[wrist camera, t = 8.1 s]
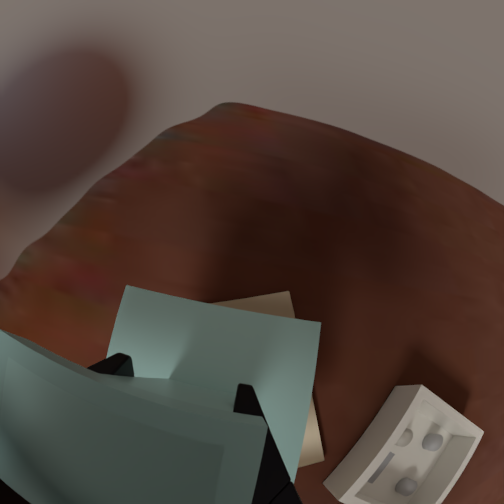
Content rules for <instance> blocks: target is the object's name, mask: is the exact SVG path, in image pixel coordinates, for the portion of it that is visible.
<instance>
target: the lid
mask: <svg viewBox="0 0 504 504" xmlns="http://www.w3.org/2000/svg"><path fill="white" fill-rule="evenodd" d="M320 328H321V322H315V321H307V320H301V319H294V318H287V317H281V316H275V315H269V314H263V313H257V312H251V311H245V310H240V309H234V308H229V307H224V306H218V305H213V304H208V303H203V302H199V301H194V300H189V299H184V298H180V297H175V296H171V295H166V294H162V293H157V292H153V291H149V290H145V289H140V288H136V287H132V286H128V285H126V288H125V291H124V294H123V297H122V301H121V304H120V308H119V311H118V315H117V318H116V322H115V325H114V329H113V333H112V337H111V341H110V345H109V349H108V353H107V358H108V357H110V356H112V355H114V354H116V353H123V354H126V355H129V356H131V358H132V363H133V369H134V377H128V376H117V375H108V374H99V373H96V372H94V371H91V370H89V369H87V368H84V367H82V366H80V365H78V364H75V363H73V362H71V361H69V360H67V359H65V358H63V357H61V356H59V355H56V354H54V353H52V352H51V351H49V350H47V349H45V348H43V347H41V346H39V345H37V344H35V343H34V342H32V341H30V340H28V339H25V338H22V337H20V336H17V335H14V334H11V333H9V332H6V331H3V330H1V329H0V479H1V480H2V481H4V482H5V483H6V484H7V485H8V486H9V487H11V488H12V489H13V490H14V491H15V492H17V493H18V494H19V495H20V496H22V497H23V498H24V499H26V500H27V501H28V502H30V503H31V504H251V503H252V499H253V495H254V490H255V486H256V481H257V477H258V472H259V468H260V463H261V458H262V454H263V449H264V444H265V439H266V434H267V429H268V426H269V428H270V431H271V433H272V436H273V438H274V440H275V443H276V445H277V448H278V450H279V452H280V455H281V457H282V459H283V462H284V464H285V466H286V469H287V471H288V473H289V476H290V478H291V482H293V484H294V480H295V476H296V472H297V467H298V463H299V458H300V454H301V449H302V444H303V439H304V434H305V429H306V424H307V419H308V413H309V407H310V401H311V395H312V389H313V382H314V376H315V369H316V361H317V354H318V346H319V337H320ZM239 383H243V384H249V385H252V386H253V388H254V390H255V393H256V395H257V398H258V401H259V403H260V406H261V408H262V411H263V413H264V416H265V418H266V421H267V423H268V426H267V424H266V422H265V421H264V419H263V417H261V416H254V415H247V414H241V413H235V412H233V409H234V408H233V406H234V401H235V396H236V391H237V386H238V384H239Z"/></svg>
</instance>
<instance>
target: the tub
mask: <svg viewBox="0 0 504 504" xmlns="http://www.w3.org/2000/svg"><path fill="white" fill-rule="evenodd" d="M483 433H484V431H482V430H481V429H480V428H478V427H477V426H476V425H474V424H473V423H472V422H471V421H469V420H468V419H467V418H465V417H464V416H463V415H461V414H460V413H459V412H457V411H456V410H455V409H453V408H452V407H451V406H449V405H448V404H447V403H446V402H444V401H443V400H442V399H440V398H439V397H438V396H436V395H435V394H434V393H432V392H431V391H430V390H428V389H427V388H426V387H424V386H423V385H406V386H395V387H394V389H393V390H392V392H391V393H390V395H389V397H388V398H387V400H386V401H385V403H384V405H383V406H382V408H381V409H380V411H379V412H378V414H377V415H376V417H375V418H374V420H373V421H372V422H371V424H370V425H369V427H368V428H367V429H366V431H365V432H364V434H363V435H362V436H361V438H360V439H359V440H358V442H357V443H356V444H355V445H354V447H353V448H352V449H351V451H350V452H349V453H348V454H347V455H346V457H345V458H344V459H343V460H342V461H341V463H340V464H339V465H338V466H337V467H336V469H335V470H334V471H333V472H332V473H331V474H330V475H329V476H328V477H327V479H326V480H325V481H324V482H323V484H324V486H325V487H326V488H327V489H328V490H329V491H330V492H331V493H332V495H333V496H334V497H335V498H336V499H337V500H338V501H340V502H342V503H344V504H441V503H442V502H443V500H444V499H445V497H446V496H447V495H448V493H449V492H450V490H451V489H452V487H453V486H454V484H455V483H456V481H457V480H458V478H459V477H460V475H461V473H462V472H463V470H464V469H465V467H466V465H467V464H468V462H469V460H470V458H471V457H472V455H473V453H474V451H475V449H476V447H477V445H478V443H479V442H480V440H481V438H482V435H483Z"/></svg>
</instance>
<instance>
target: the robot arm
mask: <svg viewBox="0 0 504 504" xmlns="http://www.w3.org/2000/svg"><path fill="white" fill-rule="evenodd" d="M87 369H89V370H91V371H94V372H96V373H99V374H108V375H117V376H128V377H134V369H133V363H132V358H131V356H129V355H126V354H123V353H116V354H114V355H112V356H110V357H108V358H106V359H104V360H102V361H100V362H98V363H96V364H94V365H92V366H90V367H88V368H87ZM233 408H234V409H233V412H235V413H241V414H247V415H254V416H261V417H263V419H264V421H265V422H266V424H267V426H268V423H267V421H266V418H265V416H264V413H263V411H262V408H261V406H260V403H259V401H258V398H257V395H256V393H255V390H254V388H253V386H252V385H249V384H243V383H239V384H238V386H237V391H236V396H235V401H234V406H233ZM0 504H31V503H30V502H28V501H27V500H26V499H24V498H23V497H22V496H20V495H19V494H18V493H17V492H15V491H14V490H13V489H12V488H11V487H9V486H8V485H7V484H6V483H5V482H4V481H2V480H1V479H0ZM251 504H303V503H302V501H301V499H300V497H299V495H298V493H297V491H296V489H295V486H294V484H293V482H291V478H290V476H289V473H288V471H287V469H286V466H285V464H284V462H283V459H282V457H281V455H280V452H279V450H278V448H277V445H276V443H275V440H274V438H273V436H272V433H271V431H270V428H269V426H268V429H267V434H266V439H265V444H264V449H263V454H262V458H261V463H260V468H259V472H258V477H257V481H256V486H255V490H254V495H253V499H252V503H251Z"/></svg>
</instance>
